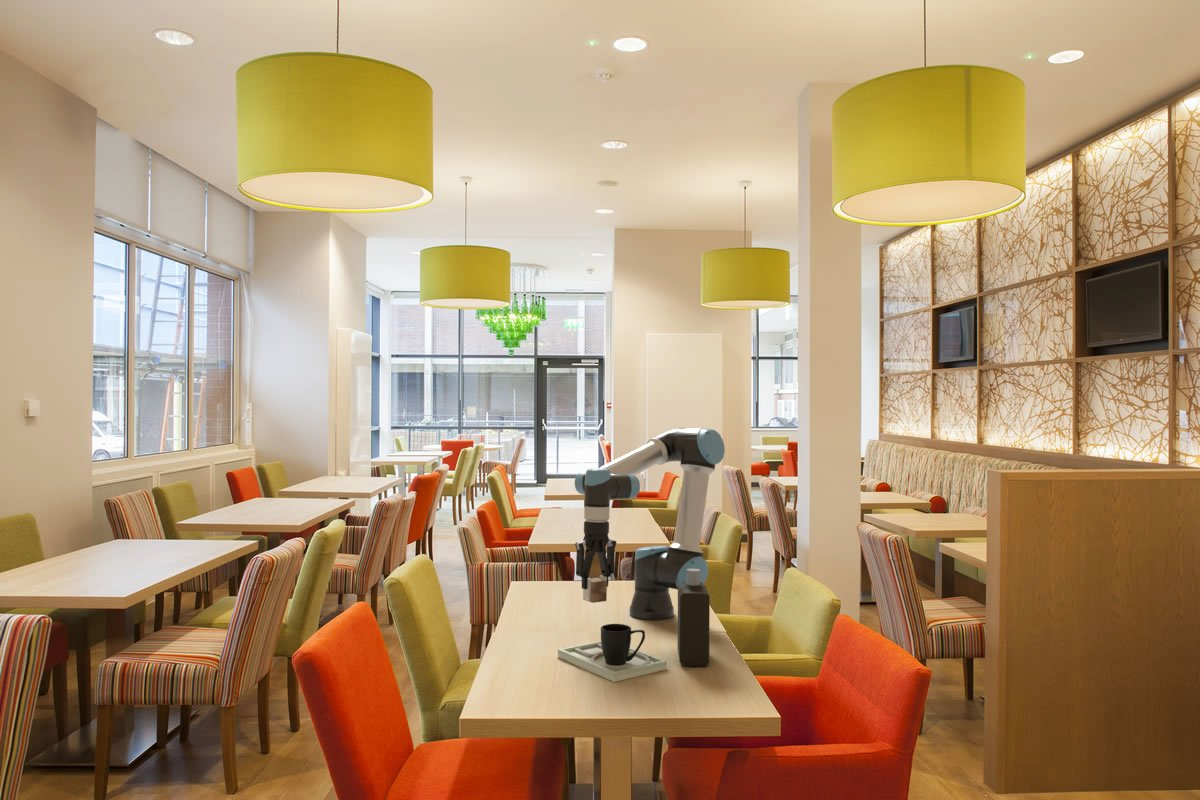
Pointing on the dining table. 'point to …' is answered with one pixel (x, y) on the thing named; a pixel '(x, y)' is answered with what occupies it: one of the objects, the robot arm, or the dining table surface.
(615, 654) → the mug
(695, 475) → the robot arm
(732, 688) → the dining table surface
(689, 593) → the bottle
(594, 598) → the block
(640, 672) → the tray
